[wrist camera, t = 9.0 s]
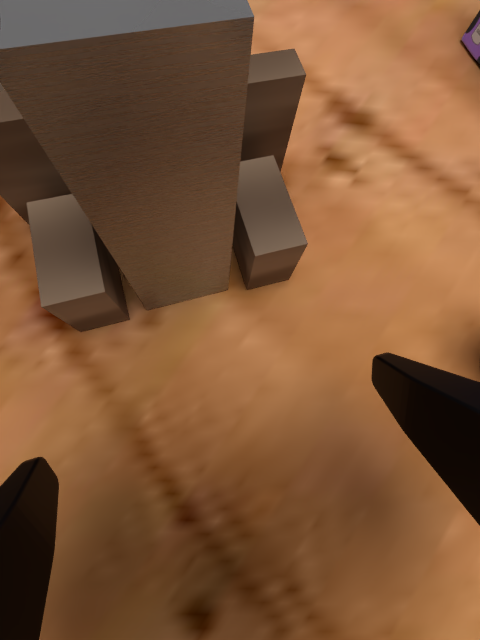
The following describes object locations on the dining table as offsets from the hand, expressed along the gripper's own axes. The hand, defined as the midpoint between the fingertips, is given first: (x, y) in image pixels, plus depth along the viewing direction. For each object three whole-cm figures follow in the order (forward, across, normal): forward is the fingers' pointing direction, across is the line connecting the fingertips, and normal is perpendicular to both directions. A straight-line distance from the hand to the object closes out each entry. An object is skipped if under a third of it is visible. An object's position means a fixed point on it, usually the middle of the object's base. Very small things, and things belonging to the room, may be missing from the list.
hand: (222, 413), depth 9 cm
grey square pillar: (+12, 0, -1) cm, 12 cm away
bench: (+12, 0, -2) cm, 13 cm away
